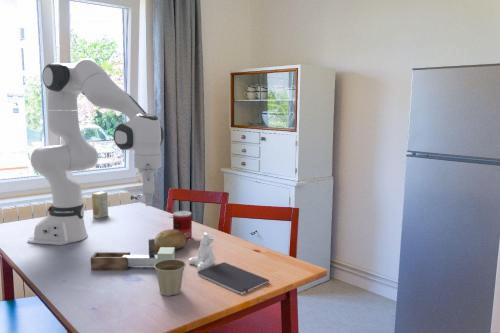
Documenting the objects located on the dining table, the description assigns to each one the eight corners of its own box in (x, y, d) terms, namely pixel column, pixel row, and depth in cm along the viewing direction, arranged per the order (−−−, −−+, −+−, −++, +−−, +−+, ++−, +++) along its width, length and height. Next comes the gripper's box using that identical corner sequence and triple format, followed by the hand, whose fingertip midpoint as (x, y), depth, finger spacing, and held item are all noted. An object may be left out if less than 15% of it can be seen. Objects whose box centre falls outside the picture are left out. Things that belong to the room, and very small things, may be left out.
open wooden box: (91, 270, 145) (90, 257, 144) (96, 264, 150) (95, 252, 150) (126, 270, 146) (126, 257, 145) (130, 264, 151) (130, 252, 150)
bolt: (121, 266, 146) (121, 241, 145) (123, 263, 149) (123, 238, 148) (168, 266, 147) (168, 241, 146) (169, 263, 150) (169, 238, 149)
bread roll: (193, 248, 169) (193, 228, 168) (162, 258, 158) (161, 237, 157) (177, 242, 175) (177, 223, 174) (147, 251, 164) (146, 231, 163)
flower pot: (156, 285, 134) (156, 259, 133) (186, 284, 135) (186, 258, 134) (152, 298, 125) (151, 270, 124) (184, 298, 126) (184, 270, 125)
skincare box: (101, 214, 215) (100, 190, 213) (108, 215, 213) (107, 191, 211) (92, 217, 209) (91, 193, 207) (99, 218, 207) (98, 194, 205)
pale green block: (157, 271, 145) (157, 253, 145) (160, 263, 152) (160, 247, 151) (172, 271, 146) (172, 253, 145) (174, 263, 152) (174, 247, 151)
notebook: (269, 284, 138) (223, 266, 152) (269, 279, 138) (224, 262, 152) (241, 296, 129) (196, 276, 143) (241, 292, 128) (196, 271, 143)
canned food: (193, 235, 184) (193, 211, 182) (189, 241, 176) (189, 216, 174) (176, 235, 185) (176, 210, 183) (171, 240, 177) (170, 215, 175)
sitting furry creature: (187, 263, 153) (186, 231, 151) (208, 258, 158) (208, 227, 156) (198, 272, 145) (198, 238, 144) (220, 267, 150) (221, 234, 148)
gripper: (158, 167, 135) (158, 209, 137) (156, 157, 154) (156, 195, 157) (137, 167, 133) (138, 210, 136) (138, 157, 153) (139, 195, 155)
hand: (148, 202), depth 146 cm, fingers open, 8 cm apart
